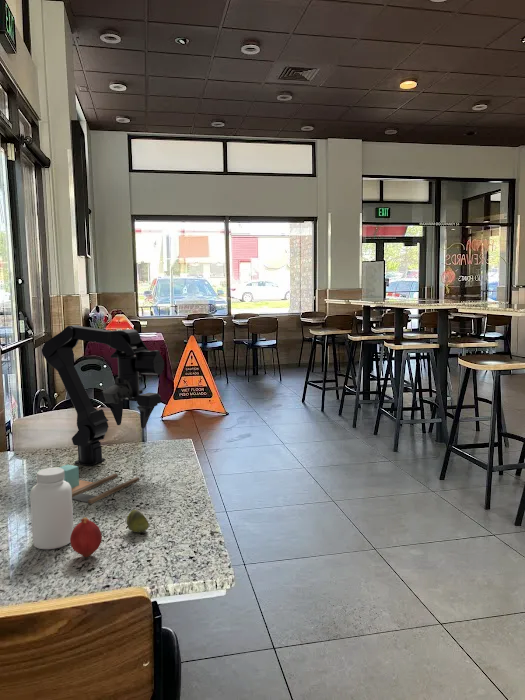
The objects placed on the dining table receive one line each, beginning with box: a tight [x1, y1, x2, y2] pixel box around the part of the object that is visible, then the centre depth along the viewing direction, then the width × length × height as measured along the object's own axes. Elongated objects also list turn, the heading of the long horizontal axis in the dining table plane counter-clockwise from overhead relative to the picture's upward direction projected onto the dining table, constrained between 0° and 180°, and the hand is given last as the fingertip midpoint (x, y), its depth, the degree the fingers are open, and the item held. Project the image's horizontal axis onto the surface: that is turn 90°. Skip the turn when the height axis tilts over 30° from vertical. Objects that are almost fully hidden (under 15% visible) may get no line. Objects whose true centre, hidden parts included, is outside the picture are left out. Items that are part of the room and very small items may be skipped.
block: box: [58, 463, 80, 488], centre depth 145 cm, size 4×4×5 cm
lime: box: [126, 509, 150, 533], centre depth 119 cm, size 4×5×5 cm
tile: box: [71, 479, 94, 492], centre depth 146 cm, size 8×8×1 cm
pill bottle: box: [29, 467, 74, 550], centre depth 114 cm, size 8×8×15 cm
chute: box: [72, 473, 140, 504], centre depth 145 cm, size 8×18×1 cm, turn 154°
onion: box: [69, 517, 103, 558], centre depth 108 cm, size 6×6×8 cm
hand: (130, 426), depth 162 cm, fingers open, 9 cm apart
